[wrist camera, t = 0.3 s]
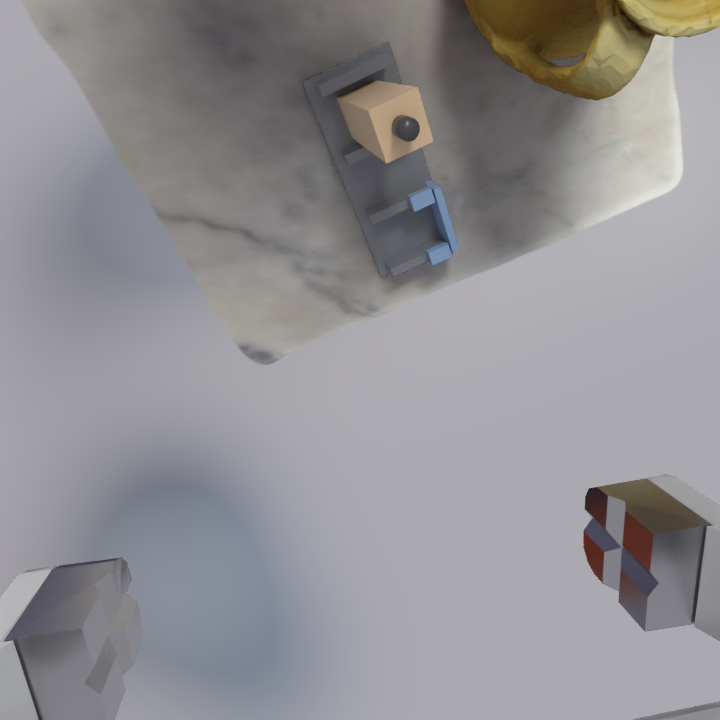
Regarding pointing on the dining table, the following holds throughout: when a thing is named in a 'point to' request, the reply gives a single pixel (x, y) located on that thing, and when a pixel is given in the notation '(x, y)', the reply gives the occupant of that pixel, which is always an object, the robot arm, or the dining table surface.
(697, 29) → the pitcher
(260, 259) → the dining table surface
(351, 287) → the dining table surface
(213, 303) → the dining table surface
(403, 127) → the plug
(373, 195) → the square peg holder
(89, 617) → the robot arm
